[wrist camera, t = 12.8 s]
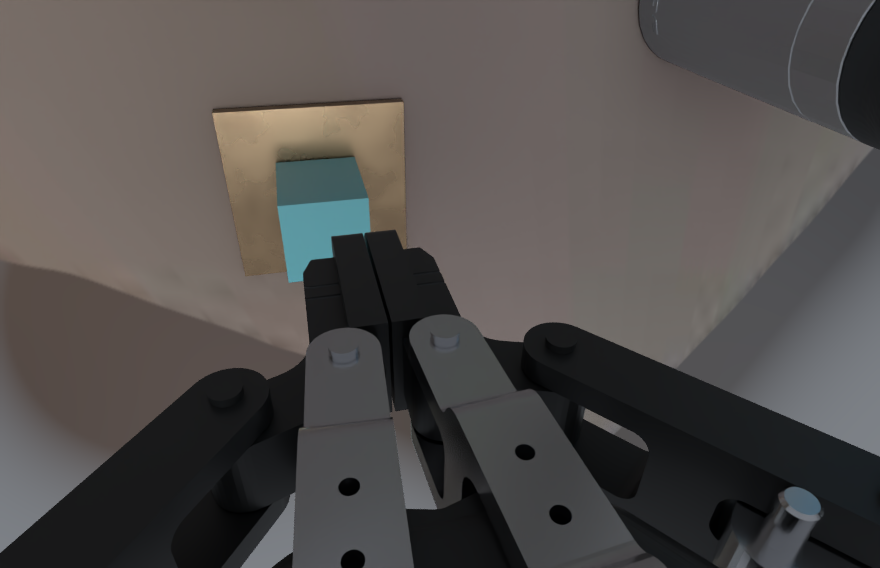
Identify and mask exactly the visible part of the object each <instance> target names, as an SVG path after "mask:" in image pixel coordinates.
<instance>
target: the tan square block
mask: <svg viewBox="0 0 880 568" xmlns="http://www.w3.org/2000/svg"><path fill="white" fill-rule="evenodd" d="M212 115H213V120H214V125H215V129H216V134H217V139H218V144H219V149H220V154H221V159H222V164H223V168H224V173H225V178H226V183H227V188H228V193H229V198H230V203H231V207H232V212H233V217H234V222H235V227H236V232H237V237H238V242H239V246H240V251H241V256H242V261H243V266H244V271H245V276H253V275H261V274H270V273H279V272H287V267H286V260H285V254H284V247H283V241H282V234H281V227H280V221H279V214H278V208H277V186H276V163H279V162H293V161H306V160H320V159H334V158H347V157H355V160H356V163H357V165H358V168H359V171H360V174H361V177H362V180H363V183H364V186H365V189H366V192H367V195H368V198H369V214H370V232H376V231H386V230H396V232H397V234H398V237H399V239H400V242H401V244H402V247H403V249H406V201H405V152H404V104H403V101H402V99H384V100H366V101H349V102H331V103H314V104H296V105H279V106H261V107H244V108H226V109H213V112H212Z"/></svg>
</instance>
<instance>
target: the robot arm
mask: <svg viewBox="0 0 880 568" xmlns="http://www.w3.org/2000/svg"><path fill="white" fill-rule="evenodd" d="M639 19H640V27H641V30H642V34H643V37H644V39H645V41H646V43H647V44H648V46H649V48H650V49H651V50H652V51H653V52H654V53H655V54H656V55H657V56H658V57H660V58H662V59H664V60H666V61H668V62H670V63H672V64H675V65H677V66H680V67H682V68H684V69H687V70H689V71H692V72H694V73H696V74H698V75H700V76H703V77H705V78H708V79H710V80H712V81H715V82H717V83H720V84H722V85H724V86H727V87H729V88H732V89H734V90H736V91H739V92H741V93H744V94H746V95H748V96H751V97H753V98H756V99H758V100H761V101H763V102H765V103H768V104H770V105H773V106H775V107H777V108H780V109H782V110H785V111H787V112H789V113H792V114H794V115H797V116H799V117H801V118H804V119H806V120H809V121H811V122H814V123H817V124H819V125H821V126H824V127H826V128H829V129H831V130H833V131H836V132H838V133H841V134H843V135H845V136H848V137H850V138H853V139H855V140H858V141H860V142H862V143H864V144H867V145H869V146H872V147H874V148H877V149H879V150H880V0H640V4H639ZM331 243H332V253H333V257H332V258H323V259H314V260H311V261H310V262H309V264H308V265H307V267H306V269H305V270H304V272H303V281H304V291H305V301H306V311H307V322H308V332H309V346H308V348H307V351H306V356H305V357H304V359H303V360H302V361H301V362H300V363H299V364H298V365H296V366H295V367H294V368H292V369H291V370H289V371H287V372H285V373H283V374H281V375H278V376H276V377H273V378H271V379H268V380H266V379H265V378H264V376H262V375H261V374H260V373H258V372H256V371H254V370H249V369H244V368H232V369H226V370H220V371H218V372H215V373H212V374H210V375H208V376H206V377H204V378H202V379H201V380H199V381H198V382H197V383H195V384H194V385H193V386H192V387H191V388H190V389H188V390H187V391H186V392H185V393H184V394H183V395H182V396H180V397H179V398H178V399H177V400H176V401H175V402H173V403H172V405H170V406H169V407H168V408H167V409H165V410H164V411H163V412H162V413H161V414H160V415H159V416H157V417H156V418H155V419H154V420H153V421H152V422H150V423H149V424H148V425H147V426H146V427H145V428H144V429H142V430H141V431H140V432H139V433H138V434H137V435H136V436H134V437H133V438H132V439H131V440H130V441H129V442H127V443H126V444H125V445H124V446H123V447H122V448H121V449H119V450H118V451H117V452H116V453H115V454H114V455H113V456H112V457H110V458H109V459H108V460H107V461H106V462H105V463H103V464H102V465H101V466H100V467H99V468H98V469H97V470H95V471H94V472H93V473H92V474H91V475H90V476H88V477H87V478H86V479H85V480H84V481H83V482H82V483H80V484H79V485H78V486H77V487H76V488H75V489H73V490H72V491H71V492H70V493H69V494H68V495H67V496H65V497H64V498H63V499H62V500H61V501H60V502H59V503H57V504H56V505H55V506H54V507H53V508H52V509H51V510H49V511H48V512H47V513H46V514H45V515H44V516H42V517H41V518H40V519H39V520H38V521H37V522H35V523H34V524H33V525H32V526H31V527H30V528H29V529H27V530H26V531H25V532H24V533H23V534H22V535H21V536H19V537H18V538H17V539H16V540H15V541H14V542H12V544H10V545H9V546H8V547H7V548H6V549H4V550H3V551H2V552H1V553H0V568H240V567H241V566H242V565H243V563H244V562H245V561H246V560H247V558H248V557H249V555H250V554H251V553H252V552H253V550H254V549H255V548H256V546H257V545H258V544H259V542H260V541H261V540H262V539H263V537H264V536H265V535H266V533H267V532H268V531H269V529H270V528H271V527H272V525H273V524H274V523H275V522H276V520H277V519H278V518H279V516H280V515H281V514H282V512H283V511H284V509H285V508H286V506H287V504H288V502H289V498H290V494H292V493H294V492H295V517H294V540H293V552H292V553H291V554H289V555H287V556H286V557H285V558H284V559H282V560H281V561H280V562H278V563H277V564H276V565H275V566H273V567H272V568H880V457H879V456H877V455H875V454H872V453H870V452H867V451H865V450H863V449H860V448H858V447H856V446H854V445H851V444H849V443H847V442H844V441H841V440H839V439H837V438H835V437H833V436H830V435H828V434H826V433H823V432H821V431H819V430H816V429H814V428H811V427H809V426H807V425H805V424H802V423H800V422H798V421H795V420H792V419H790V418H788V417H786V416H783V415H781V414H779V413H776V412H774V411H772V410H769V409H767V408H765V407H762V406H760V405H758V404H755V403H753V402H751V401H748V400H746V399H744V398H741V397H739V396H737V395H734V394H732V393H730V392H727V391H725V390H723V389H720V388H718V387H716V386H713V385H711V384H709V383H706V382H704V381H702V380H699V379H697V378H695V377H692V376H690V375H688V374H685V373H683V372H681V371H678V370H676V369H674V368H671V367H669V366H667V365H664V364H662V363H660V362H657V361H655V360H652V359H650V358H648V357H645V356H643V355H641V354H638V353H636V352H634V351H631V350H629V349H627V348H624V347H622V346H620V345H617V344H615V343H613V342H610V341H608V340H606V339H603V338H601V337H599V336H596V335H594V334H592V333H589V332H587V331H585V330H582V329H580V328H578V327H575V326H572V325H569V324H565V323H554V322H552V323H544V324H540V325H537V326H535V327H533V328H531V329H530V330H529V331H528V332H527V333H526V335H525V337H524V342H510V341H499V340H493V339H489V338H486V337H483V336H482V334H481V333H480V331H479V329H478V328H477V327H476V326H475V325H474V324H473V323H472V322H470V321H469V320H467V319H465V318H462V317H461V316H460V314H459V312H458V309H457V307H456V305H455V303H454V301H453V299H452V296H451V294H450V292H449V290H448V288H447V286H446V283H444V279H443V277H442V275H441V273H440V272H439V268H438V266H437V264H436V262H435V260H434V258H433V257H432V256H431V255H429V254H428V253H427V252H425V251H424V250H423V249H421V248H411V249H403V247H402V244H401V242H400V239H399V237H398V234H397V232H396V230H386V231H376V232H367V233H364V236H363V234H362V233H358V234H349V235H339V236H331ZM392 400H393V403H394V408H395V411H400V410H406V409H408V411H409V415H410V418H411V439H412V442H413V445H414V448H415V451H416V453H417V456H418V459H419V461H420V464H421V467H422V469H423V472H424V475H425V477H426V480H427V482H428V486H429V488H430V491H431V493H432V496H433V499H434V501H435V504H436V507H437V509H436V510H428V509H406V507H405V500H404V493H403V485H402V479H401V471H400V464H399V457H398V450H397V443H396V435H395V428H394V422H393V418H392V417H391V416H390V412H392ZM585 408H586V409H588V410H590V411H592V412H594V413H596V414H598V415H600V416H602V417H604V418H606V419H608V420H610V421H612V422H614V423H616V424H618V425H620V426H622V427H624V428H627V429H628V430H630V431H633V432H634V433H636V434H637V435H639V436H640V437H641V438H642V439H643V440H644V441H645V443H646V445H647V447H648V449H649V452H648V451H645V450H643V449H641V448H639V447H637V446H635V445H633V444H631V443H629V442H627V441H625V440H623V439H621V438H619V437H617V436H615V435H613V434H611V433H609V432H607V431H606V430H604V429H602V428H600V427H598V426H596V425H594V424H592V423H590V422H588V421H586V420H584V419H583V416H584V412H585Z"/></svg>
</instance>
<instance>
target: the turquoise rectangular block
mask: <svg viewBox="0 0 880 568" xmlns="http://www.w3.org/2000/svg"><path fill="white" fill-rule="evenodd" d="M276 186H277V208H278V214H279V221H280V227H281V234H282V241H283V247H284V254H285V260H286V267H287V274H288V280H289V283H290V282H298V281H303V272H304V270H305V269H306V267H307V265H308V264H309V262H310V261H311V260H314V259H323V258H332V257H333V253H332V243H331V236H339V235H349V234H358V233H362V234H363V236H364V233H367V232H370V214H369V198H368V195H367V192H366V189H365V186H364V183H363V180H362V177H361V174H360V171H359V168H358V165H357V163H356V160H355V157H347V158H334V159H320V160H306V161H293V162H279V163H276Z"/></svg>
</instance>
